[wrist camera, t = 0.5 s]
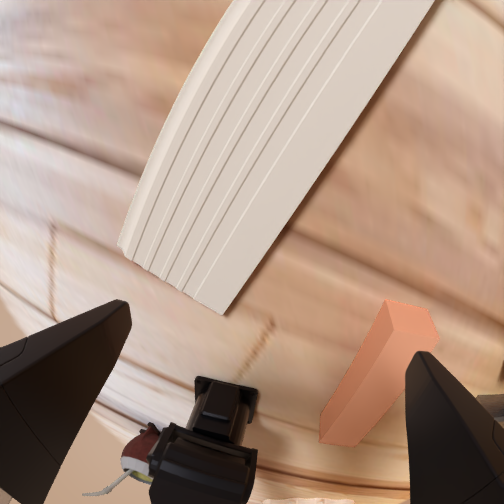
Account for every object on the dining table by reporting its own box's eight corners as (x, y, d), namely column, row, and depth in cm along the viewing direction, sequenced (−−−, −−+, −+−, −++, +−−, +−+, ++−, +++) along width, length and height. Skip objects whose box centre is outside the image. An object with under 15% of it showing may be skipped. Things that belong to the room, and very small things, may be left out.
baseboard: (108, 232, 25) (226, 304, 26) (89, 246, 23) (217, 326, 24) (290, -95, 11) (442, -18, 12) (286, -115, 8) (457, -30, 9)
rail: (353, 417, 30) (354, 447, 27) (320, 412, 30) (318, 442, 27) (426, 306, 23) (439, 338, 19) (384, 297, 23) (394, 329, 19)
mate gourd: (187, 449, 40) (156, 531, 26) (143, 440, 41) (108, 514, 28) (170, 423, 37) (129, 515, 23) (123, 413, 38) (80, 494, 25)
